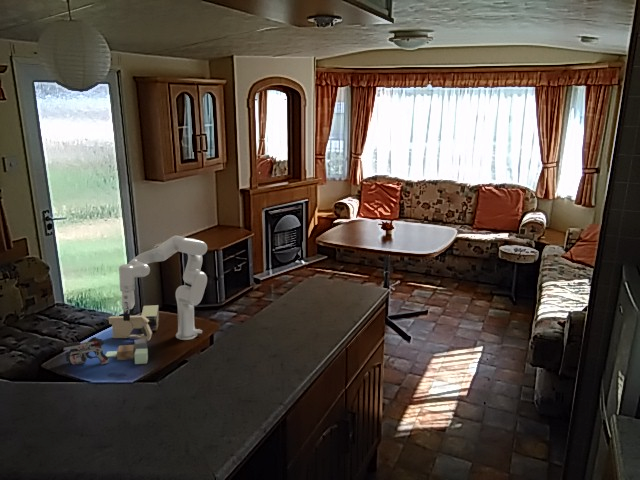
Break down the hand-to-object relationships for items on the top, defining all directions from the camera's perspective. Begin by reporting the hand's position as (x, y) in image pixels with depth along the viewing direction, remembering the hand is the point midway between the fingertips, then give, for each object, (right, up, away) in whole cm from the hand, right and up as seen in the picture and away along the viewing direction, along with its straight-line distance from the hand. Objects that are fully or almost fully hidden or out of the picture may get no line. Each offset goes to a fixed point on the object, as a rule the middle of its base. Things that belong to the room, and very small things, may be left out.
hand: (128, 317), depth 285 cm
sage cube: (+8, -24, -2) cm, 25 cm away
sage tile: (-11, -21, +4) cm, 24 cm away
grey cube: (+3, -21, +10) cm, 23 cm away
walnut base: (-2, -22, +3) cm, 22 cm away
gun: (-8, -17, +26) cm, 32 cm away
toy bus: (-3, -12, +46) cm, 47 cm away
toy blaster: (-20, -24, -6) cm, 32 cm away
